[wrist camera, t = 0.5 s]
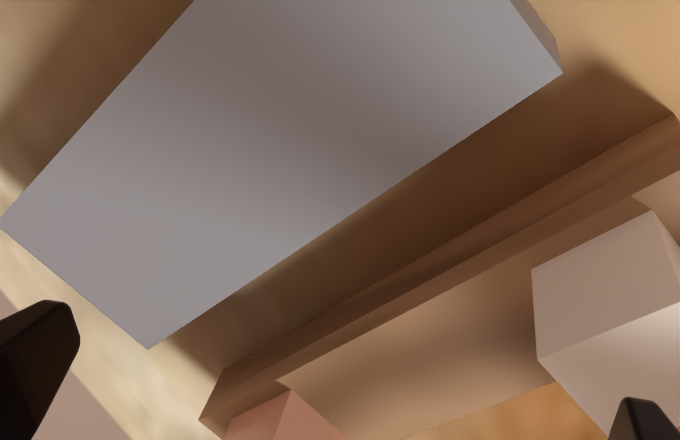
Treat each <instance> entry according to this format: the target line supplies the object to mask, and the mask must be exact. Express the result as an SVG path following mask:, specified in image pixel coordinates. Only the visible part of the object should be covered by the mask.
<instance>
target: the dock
mask: <svg viewBox="0 0 680 440" xmlns="http://www.w3.org/2000/svg"><path fill="white" fill-rule="evenodd" d="M561 74H563V70H562V66H561V62H560V57H559V53H558V49H557V45H556V41H555V38H554V37H553V35H552V34H551V33H550V31H549V30H548V28H547V27H546V26H545V24H544V23H543V22H542V20H541V19H540V17H539V16H538V15H537V13H536V12H535V11H534V9H533V8H532V7H531V5H530V4H529V2H528V1H527V0H194V1H193V2H192V3H191V5H190V6H189V7H188V8H187V9H186V10H185V11H184V12H183V14H182V15H181V16H180V17H179V18H178V19H177V20H176V21H175V22H174V24H173V25H172V26H171V27H170V28H169V29H168V30H167V31H166V33H165V34H164V35H163V36H162V37H161V38H160V39H159V40H158V42H157V43H156V44H155V45H154V46H153V47H152V48H151V49H150V51H149V52H148V53H147V54H146V55H145V56H144V57H143V58H142V59H141V61H140V62H139V63H138V64H137V65H136V66H135V67H134V68H133V70H132V71H131V72H130V73H129V74H128V75H127V76H126V77H125V79H124V80H123V81H122V82H121V83H120V84H119V85H118V86H117V87H116V89H115V90H114V91H113V92H112V93H111V94H110V95H109V96H108V98H107V99H106V100H105V101H104V102H103V103H102V104H101V105H100V107H99V108H98V109H97V110H96V111H95V112H94V113H93V114H92V116H91V117H90V118H89V119H88V120H87V121H86V122H85V123H84V124H83V126H82V127H81V128H80V129H79V130H78V131H77V132H76V133H75V135H74V136H73V137H72V138H71V139H70V140H69V141H68V142H67V144H66V145H65V146H64V147H63V148H62V149H61V150H60V151H59V152H58V154H57V155H56V156H55V157H54V158H53V159H52V160H51V161H50V163H49V164H48V165H47V166H46V167H45V168H44V169H43V170H42V172H41V173H40V174H39V175H38V176H37V177H36V178H35V179H34V181H33V182H32V183H31V184H30V185H29V186H28V187H27V188H26V189H25V191H24V192H23V193H22V194H21V195H20V196H19V197H18V198H17V200H16V201H15V202H14V203H13V204H12V205H11V206H10V207H9V209H8V210H7V211H6V212H5V213H4V214H3V215H2V216H1V218H0V229H2V230H3V231H4V232H5V233H7V234H8V235H9V236H10V237H11V238H13V239H14V240H15V241H16V242H17V243H19V244H20V245H21V246H22V247H24V248H25V249H26V250H27V251H28V252H30V253H31V254H32V255H33V256H34V257H36V258H37V259H38V260H39V261H40V262H42V263H43V264H44V265H45V266H47V267H48V268H49V269H50V270H51V271H53V272H54V273H55V274H56V275H57V276H59V277H60V278H61V279H62V280H63V281H65V282H66V283H67V284H68V285H70V286H71V287H72V288H73V289H74V290H76V291H77V292H78V293H79V294H80V295H82V296H83V297H84V298H85V299H86V300H88V301H89V302H90V303H91V304H93V305H94V306H95V307H96V308H97V309H99V310H100V311H101V312H102V313H103V314H105V315H106V316H107V317H108V318H109V319H111V320H112V321H113V322H114V323H116V324H117V325H118V326H119V327H120V328H122V329H123V330H124V331H125V332H126V333H128V334H129V335H130V336H131V337H132V338H134V339H135V340H136V341H137V342H139V343H140V344H141V345H142V346H143V347H145V348H146V349H147V350H149V349H150V348H152V347H153V346H155V345H156V344H158V343H159V342H161V341H162V340H164V339H165V338H167V337H168V336H170V335H171V334H173V333H174V332H176V331H177V330H179V329H180V328H182V327H183V326H185V325H186V324H188V323H189V322H191V321H192V320H194V319H195V318H197V317H198V316H200V315H201V314H203V313H204V312H206V311H207V310H209V309H210V308H212V307H213V306H215V305H216V304H218V303H219V302H221V301H222V300H224V299H225V298H227V297H228V296H230V295H231V294H233V293H234V292H236V291H237V290H239V289H240V288H242V287H243V286H245V285H246V284H248V283H249V282H251V281H252V280H254V279H255V278H257V277H258V276H260V275H261V274H263V273H264V272H266V271H267V270H269V269H270V268H272V267H273V266H275V265H276V264H278V263H279V262H281V261H282V260H284V259H285V258H287V257H288V256H290V255H291V254H293V253H294V252H296V251H297V250H299V249H300V248H302V247H303V246H305V245H306V244H308V243H309V242H311V241H312V240H314V239H315V238H317V237H318V236H320V235H321V234H323V233H324V232H326V231H327V230H329V229H330V228H332V227H333V226H335V225H336V224H338V223H339V222H341V221H342V220H344V219H345V218H347V217H348V216H350V215H351V214H353V213H354V212H356V211H357V210H359V209H360V208H362V207H363V206H365V205H366V204H368V203H369V202H371V201H372V200H374V199H375V198H377V197H378V196H380V195H381V194H383V193H384V192H386V191H387V190H389V189H390V188H392V187H393V186H395V185H396V184H398V183H399V182H401V181H402V180H404V179H405V178H407V177H408V176H410V175H411V174H413V173H414V172H416V171H417V170H419V169H420V168H422V167H423V166H425V165H426V164H428V163H429V162H431V161H432V160H434V159H435V158H437V157H438V156H440V155H441V154H443V153H444V152H446V151H447V150H449V149H450V148H452V147H453V146H455V145H456V144H458V143H459V142H461V141H462V140H464V139H465V138H467V137H468V136H470V135H471V134H473V133H474V132H476V131H477V130H479V129H480V128H482V127H483V126H485V125H486V124H488V123H489V122H491V121H492V120H494V119H495V118H497V117H498V116H500V115H501V114H503V113H504V112H506V111H507V110H509V109H510V108H512V107H513V106H515V105H516V104H518V103H519V102H521V101H522V100H524V99H525V98H527V97H528V96H530V95H531V94H533V93H534V92H536V91H537V90H539V89H540V88H542V87H543V86H545V85H546V84H548V83H549V82H551V81H552V80H554V79H555V78H557V77H558V76H560V75H561Z"/></svg>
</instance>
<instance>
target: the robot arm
mask: <svg viewBox="0 0 680 440" xmlns="http://www.w3.org/2000/svg"><path fill="white" fill-rule="evenodd" d="M79 346H80V335H79V332H78V329H77V326H76V323H75V320H74V317H73V314H72V311H71V308H70V307H69V305H68V304H66V303H64V302H58V301H52V300H42V301H40V302H37V303H35V304H33V305H31V306H29V307H27V308H25V309H23V310H21V311H19V312H17V313H15V314H12V315H10V316H8V317H7V318H4V319H2V320H0V440H31V439H32V437H33V436H34V434H35V432H36V431H37V429H38V427H39V425H40V423H41V422H42V420H43V418H44V417H45V415H46V413H47V411H48V409H49V407H50V405H51V403H52V401H53V399H54V397H55V395H56V393H57V391H58V389H59V387H60V385H61V383H62V381H63V380H64V377H65V376H66V374H67V372H68V370H69V368H70V366H71V364H72V362H73V360H74V358H75V356H76V354H77V352H78V350H79ZM608 440H680V432H679V431H678V429H677V428H676V427H675V426H674V424H673V423H672V422H671V421H670V419H669V418H668V417H667V416H666V414H665V413H664V412H663V410H662V409H661V408H660V407H659V406H658V404H656V403H655V402H653V401H651V400H646V399H640V398H634V397H625V398H623V399H622V401H621V402H620V405H619V407H618V410H617V413H616V416H615V419H614V421H613V424H612V427H611V430H610V433H609V438H608Z"/></svg>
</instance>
